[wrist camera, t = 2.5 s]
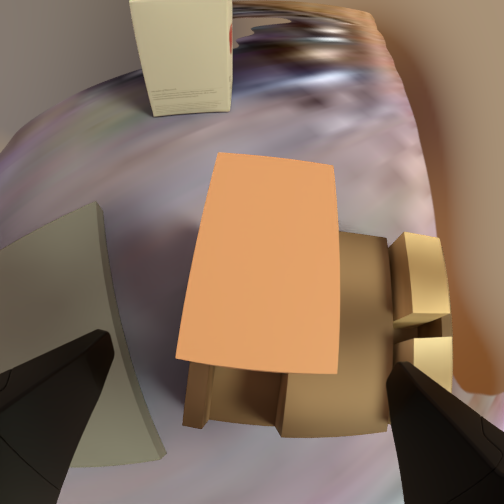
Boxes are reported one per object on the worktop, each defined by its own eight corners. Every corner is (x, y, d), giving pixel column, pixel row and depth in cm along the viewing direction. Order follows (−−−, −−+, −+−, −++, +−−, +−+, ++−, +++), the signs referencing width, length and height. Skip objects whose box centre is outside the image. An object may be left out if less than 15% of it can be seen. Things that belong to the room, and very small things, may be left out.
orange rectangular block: (272, 372, 15) (337, 373, 5) (223, 367, 15) (174, 358, 5) (279, 295, 18) (333, 165, 7) (233, 290, 18) (218, 152, 7)
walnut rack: (416, 414, 15) (449, 417, 11) (195, 414, 15) (182, 425, 11) (415, 267, 20) (442, 246, 16) (219, 246, 20) (214, 217, 16)
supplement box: (231, 113, 27) (229, -15, 13) (152, 119, 27) (124, 1, 13) (234, 76, 31) (233, -23, 17) (168, 81, 30) (153, -14, 17)
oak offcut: (412, 328, 17) (450, 313, 12) (377, 328, 17) (413, 312, 13) (407, 264, 19) (439, 238, 15) (374, 261, 19) (403, 231, 15)
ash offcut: (408, 414, 14) (447, 419, 10) (372, 419, 14) (408, 428, 10) (412, 347, 16) (451, 336, 12) (377, 348, 16) (413, 338, 12)
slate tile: (167, 453, 14) (160, 459, 12) (33, 462, 11) (23, 464, 10) (102, 210, 21) (96, 201, 20) (0, 261, 19) (-8, 255, 17)
